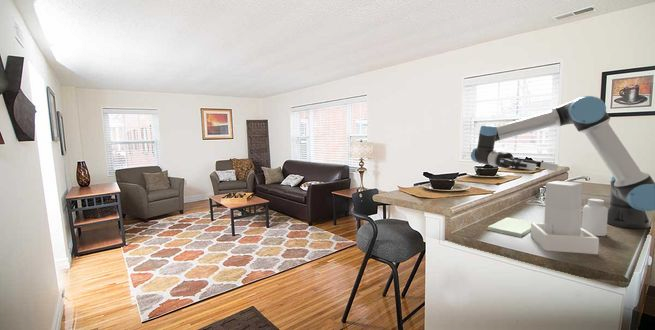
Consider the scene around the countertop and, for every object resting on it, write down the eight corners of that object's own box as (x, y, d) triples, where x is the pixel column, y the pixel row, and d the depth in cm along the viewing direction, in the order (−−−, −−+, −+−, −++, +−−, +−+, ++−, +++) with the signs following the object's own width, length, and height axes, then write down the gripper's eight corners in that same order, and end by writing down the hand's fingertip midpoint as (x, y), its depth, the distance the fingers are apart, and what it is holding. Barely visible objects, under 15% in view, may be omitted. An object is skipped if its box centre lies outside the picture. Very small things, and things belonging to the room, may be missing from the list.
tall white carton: (543, 243, 120) (545, 182, 117) (554, 239, 124) (556, 180, 122) (569, 250, 112) (572, 185, 110) (580, 245, 116) (583, 182, 114)
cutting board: (507, 220, 152) (507, 217, 152) (539, 226, 141) (539, 222, 141) (487, 229, 139) (487, 226, 139) (521, 237, 128) (521, 233, 127)
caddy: (576, 238, 123) (577, 224, 123) (598, 254, 108) (598, 238, 107) (530, 236, 128) (531, 222, 128) (545, 250, 113) (545, 235, 112)
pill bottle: (611, 237, 124) (613, 201, 122) (589, 236, 125) (591, 201, 124) (598, 230, 132) (600, 197, 130) (577, 230, 133) (579, 197, 132)
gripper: (517, 167, 148) (563, 176, 129) (480, 166, 139) (524, 176, 120) (520, 152, 147) (567, 159, 128) (483, 151, 138) (527, 158, 119)
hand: (546, 167), depth 124 cm, fingers open, 13 cm apart
